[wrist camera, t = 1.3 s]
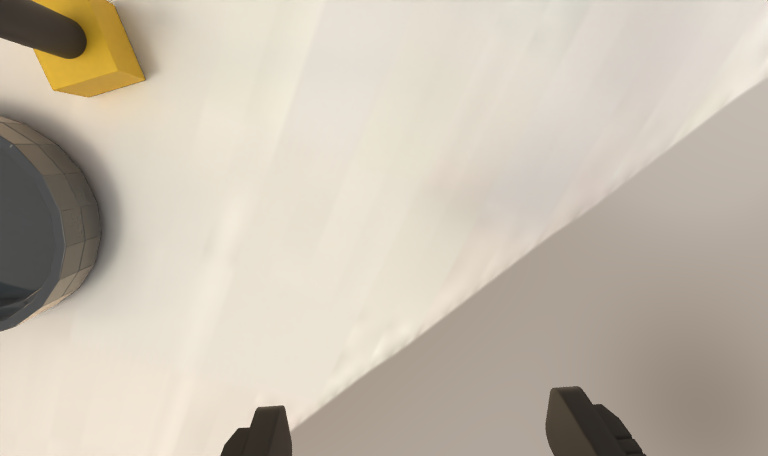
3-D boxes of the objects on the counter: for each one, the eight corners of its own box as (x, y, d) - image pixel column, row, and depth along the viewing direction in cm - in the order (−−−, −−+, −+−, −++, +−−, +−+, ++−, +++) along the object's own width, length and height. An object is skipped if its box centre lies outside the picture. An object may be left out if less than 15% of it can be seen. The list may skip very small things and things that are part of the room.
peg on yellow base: (54, 22, 31) (-212, -93, 16) (114, 4, 31) (-95, -126, 16) (88, 97, 32) (-129, 54, 17) (146, 80, 32) (-22, 22, 18)
